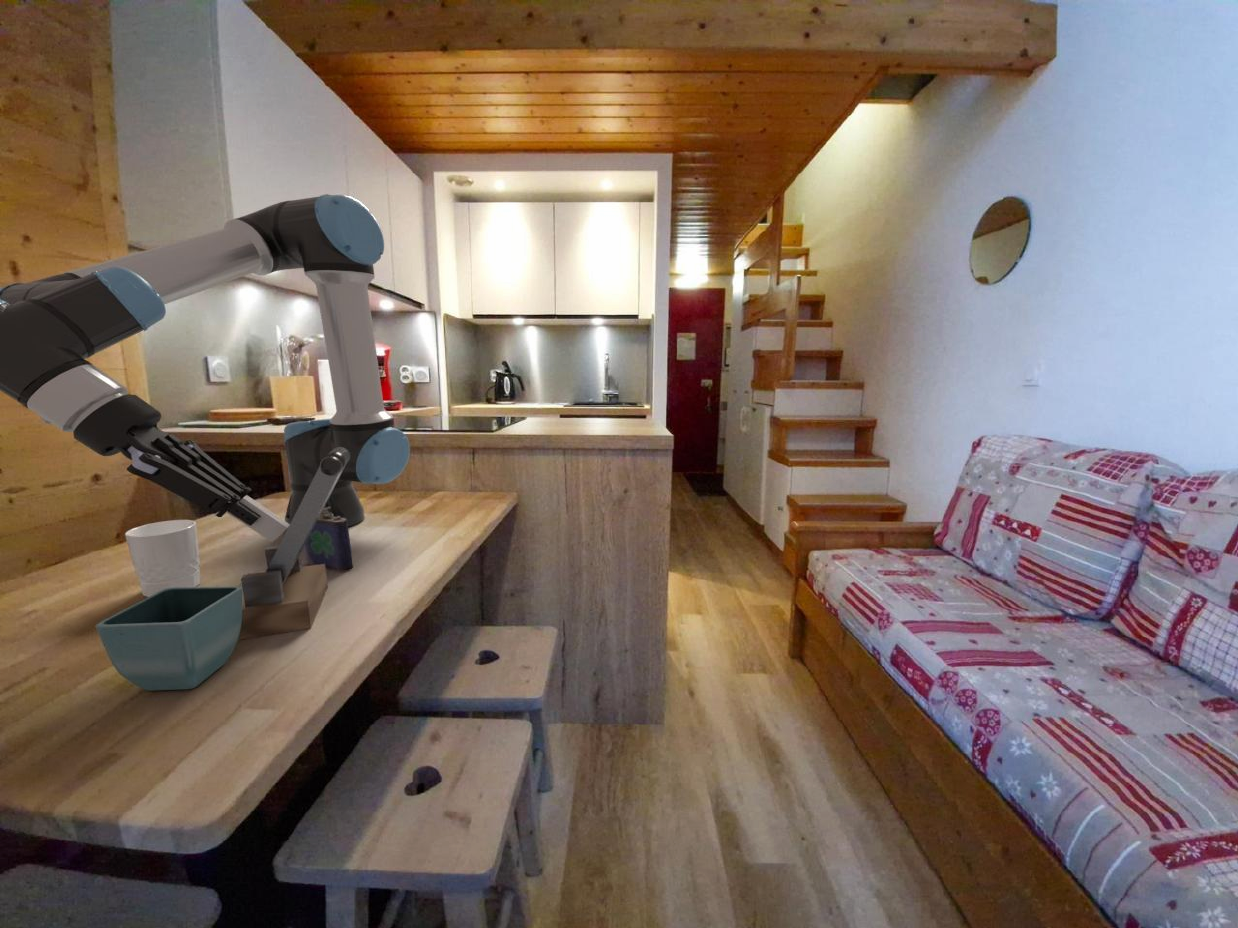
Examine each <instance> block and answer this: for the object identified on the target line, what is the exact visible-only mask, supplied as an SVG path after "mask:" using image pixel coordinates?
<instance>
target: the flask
mask: <svg viewBox="0 0 1238 928" xmlns="http://www.w3.org/2000/svg"><path fill="white" fill-rule="evenodd" d="M328 508H329V509H330V508H331V507H325V508H323V510H322V512H321V514H320V516H319V518H318V520H317V522H316V524H315V526H314V528H313V530H312V532H311V534H310V536H309V538H308V540H307V541H306V543H305V545H304V547H303V548H304V555H305V556H304V558H305V565H306V566H311V565H320V564H325V568H326V570H330V569H332V570H333V571H335V570H337V571H338V572H340V571H342V572H347V571H346V570H349V571H351V570H353V569H354V568H353V567H354V564H353V555H352V548H351V540H350V539H351V538H350V532H349V531H350V530H349V527H348V521H347V519H345V518H341V516H338V517H334V516H333V513H331V512H328ZM352 568H353V569H352ZM350 569H351V570H350ZM337 571H336V572H337Z"/></svg>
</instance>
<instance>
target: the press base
mask: <svg viewBox="0 0 1238 928" xmlns="http://www.w3.org/2000/svg"><path fill="white" fill-rule="evenodd" d="M278 547H279V545H275V546H266V548H265V549H264V554H265V559H266V560H265V561H266V567H267V568H268V566H269V564H270V562H271V560H272V558H273V556H274V555H275V553H276V551H277V549H278ZM267 568H266V569H267ZM237 586H241V587H243V589H242V623H241V630H240V634H239V637H238V640H237V641H240V640H247V639H253V638H259V637H265V636H271V635H277V634H284V633H288V632H296V631H300V630H306V629H307V630H308V629H311V628H312V627H313V625H314V622H315V620H316V618H317V615H318V612H319V610H320V607H321V605H322V602H323V601H324V598H323V597H325V595H326V593H327V591H326V590H328V588H329V586H328V578H327V569H326V568H325V564H320V565H311V566H307V565H306V566H302V559H301V554H300V555H299V557H298V559H297V561H296V563H295V565H294V567H293V569H292V570H291V572H290V573H289V575H288V577H287V578H286V580H285V582H284V583H282V575H281V570H278V571H270V572H266V570H264V571H263V570H262V571H256V572H255V571H254V572H248V573H247V574H243V575H242V577H240V583H239V584H238V585H237ZM325 592H326V593H325Z"/></svg>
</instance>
